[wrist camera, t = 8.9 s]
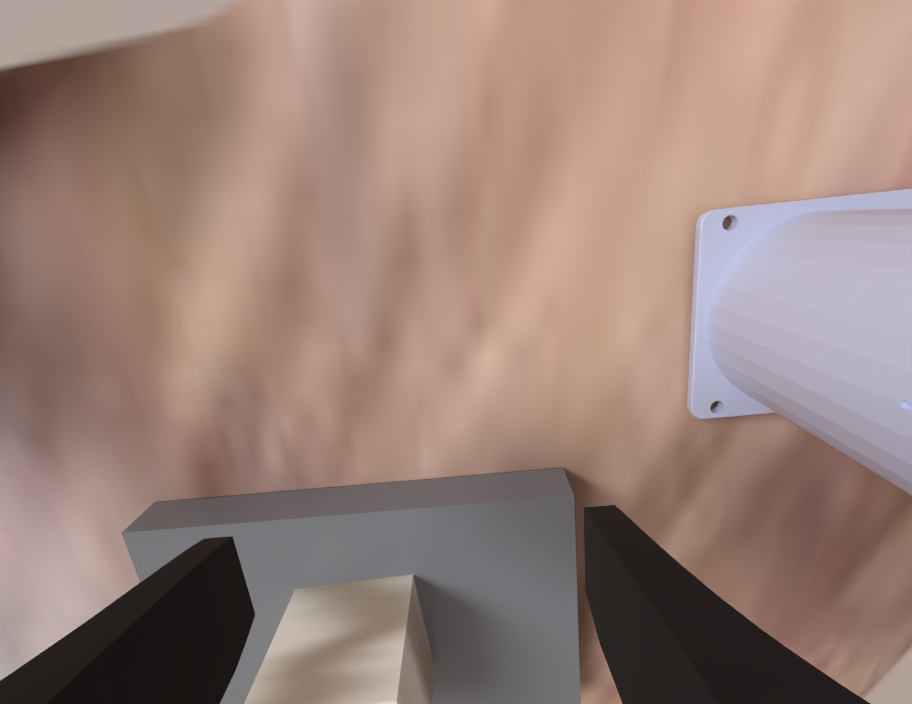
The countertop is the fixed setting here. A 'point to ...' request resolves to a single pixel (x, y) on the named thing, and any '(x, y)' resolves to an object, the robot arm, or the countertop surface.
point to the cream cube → (349, 647)
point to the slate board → (409, 570)
